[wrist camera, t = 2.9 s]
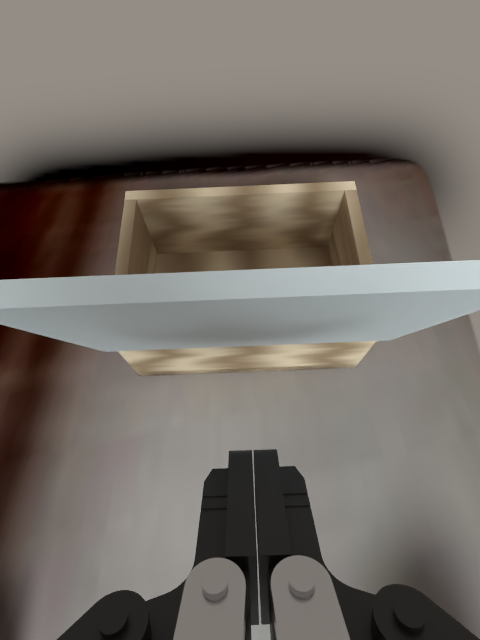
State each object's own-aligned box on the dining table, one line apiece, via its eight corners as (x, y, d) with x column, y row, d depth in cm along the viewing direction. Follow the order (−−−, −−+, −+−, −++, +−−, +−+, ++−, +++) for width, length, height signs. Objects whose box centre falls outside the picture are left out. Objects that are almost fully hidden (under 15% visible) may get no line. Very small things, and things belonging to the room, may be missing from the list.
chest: (140, 375, 35) (106, 338, 27) (150, 252, 41) (125, 191, 33) (354, 367, 35) (387, 327, 26) (333, 244, 41) (354, 181, 32)
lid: (105, 337, 26) (105, 351, 26) (-48, 282, 13) (-51, 310, 12) (388, 326, 26) (389, 340, 26) (544, 257, 12) (550, 286, 12)
